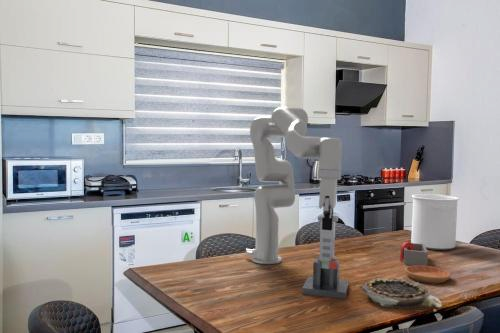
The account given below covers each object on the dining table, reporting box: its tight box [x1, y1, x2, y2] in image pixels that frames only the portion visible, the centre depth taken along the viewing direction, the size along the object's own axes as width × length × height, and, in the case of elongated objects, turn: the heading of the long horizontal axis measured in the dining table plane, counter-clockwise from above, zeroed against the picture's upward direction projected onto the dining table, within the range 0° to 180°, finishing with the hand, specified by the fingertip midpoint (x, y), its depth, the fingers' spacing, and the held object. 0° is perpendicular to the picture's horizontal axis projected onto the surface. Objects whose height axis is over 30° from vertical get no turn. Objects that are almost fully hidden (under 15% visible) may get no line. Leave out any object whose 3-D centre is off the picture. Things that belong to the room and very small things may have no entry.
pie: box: [358, 277, 443, 312], centre depth 151 cm, size 28×27×5 cm
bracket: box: [399, 241, 414, 263], centre depth 199 cm, size 12×4×8 cm, turn 121°
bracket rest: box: [402, 241, 429, 266], centre depth 199 cm, size 9×16×6 cm, turn 164°
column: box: [317, 214, 339, 269], centre depth 157 cm, size 6×5×17 cm
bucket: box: [410, 193, 460, 251], centre depth 229 cm, size 26×22×24 cm
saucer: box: [405, 265, 452, 284], centre depth 175 cm, size 16×16×3 cm
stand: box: [301, 256, 349, 299], centre depth 158 cm, size 14×14×11 cm
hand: (327, 227), depth 157 cm, fingers closed on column, 4 cm apart
